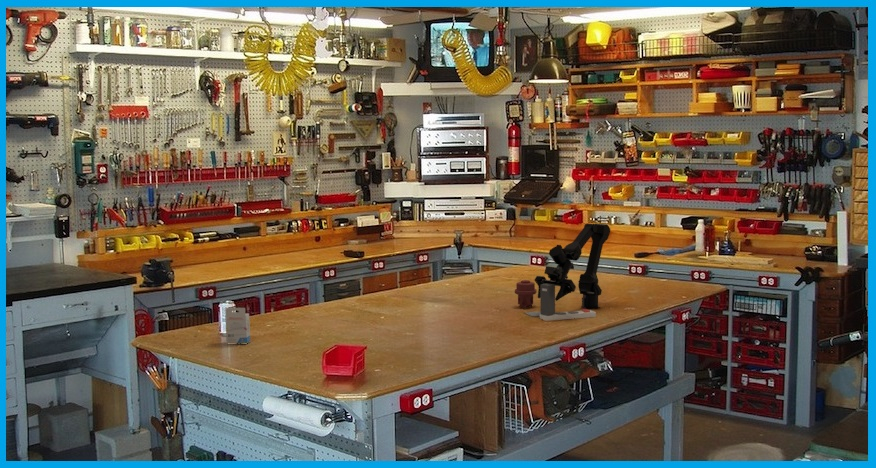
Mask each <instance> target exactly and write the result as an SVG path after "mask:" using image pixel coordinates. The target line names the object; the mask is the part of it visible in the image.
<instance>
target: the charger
mask: <svg viewBox="0 0 876 468" xmlns="http://www.w3.org/2000/svg"><path fill="white" fill-rule="evenodd" d="M555 298H556V286H555V284H548V283H546V284H541V285H540V298H539V299H540V300H539V301H540V306H539V307H540V311H539V312H540V314H542V315H553V314H555V313H556V300H555Z"/></svg>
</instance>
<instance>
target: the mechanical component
mask: <svg viewBox="0 0 876 468" xmlns="http://www.w3.org/2000/svg"><path fill="white" fill-rule="evenodd" d="M535 283H536V282H533V281H530V279H529V280H527V279H523V280H521V281H517V282H516V285H515V286H516V288H515V289H514V294H516V295H517V304H518V305H519V307H520V308H523V309H524V310H525V309H529V308H533V305H534V295H536V294H538V290H537V289H536V288H535V285H536V284H535Z"/></svg>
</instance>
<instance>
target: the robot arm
mask: <svg viewBox="0 0 876 468" xmlns="http://www.w3.org/2000/svg"><path fill="white" fill-rule="evenodd" d="M610 234H611V227H610V226H609V224H608V223H607V224H605V223H590V222H588V223H584V225H583V228H582V229H581V231H580V232H579V233H578V234H577V236H576V237H575V238H574V240H573V241H572V242H571V243H568V244H567V245H565V246H564V247H563V246H562V245H561V244H556V246H553V247H552V248H551V249H550V250H549V251H548V255H549V256H550V258H551V259H552V261H553V262H554V264H556V265H557V266H556V267H555V266H547V265H546V266H545V270H544V275H547V278H548V279H547V278H546V277H545V276H543V275H536V276H535V277H534V283H536V285H537V286H538V290H537V298H538V299H540V285H541V284H546V283H548V284H555V287H560V288H559V290H558V292H557V294H556V295H555V302H557V301H559V300H560V299H562V298H563V297H565V296H567V295H569V294H571V293H574V292H575V291H576V289H577V286H576V284H575V283H574V281H573V280H572V279H570V278H569V276H568V274H569V272H570V271H571V270H574V269H575V266H574V263H573V262H572V261H578V260H579V259H580V258H581V255H582V254H583V253H582V252H583V251H582V250H583V248H584V247H585V245H586V244H587V242H588V241H589V240H590V238H591V241H592V242H591V246H590V251H589V255H588V260H587V262H586V263H587V264H586V269H585V272H583V273H580V275H579V279H578V283H577V284H578V291H579V295H582V297H581V308H582V309H588V310H594V309H600V308H601V307H600V306H599V296H601V295H602V292H603V291H602V289H601V287H600V285H599V279H598V275H597V272H598V268H599V265H600V263H599V262H600V261H601V260H600V259H601V254H602V250H603V247H604V244H605V243H606V241H607V240H608V239H609V236H610Z"/></svg>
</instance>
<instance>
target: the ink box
mask: <svg viewBox="0 0 876 468" xmlns="http://www.w3.org/2000/svg"><path fill="white" fill-rule="evenodd" d="M235 311H237V312H235ZM224 318H225V337H226V338H225V339H226V341H225V342H226V344H227V343H247V342H249V341H250V342H251V330H250V329H251V327H250V323H251V322H250V313H246V307H225V317H224ZM250 342H249V343H250Z"/></svg>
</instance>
